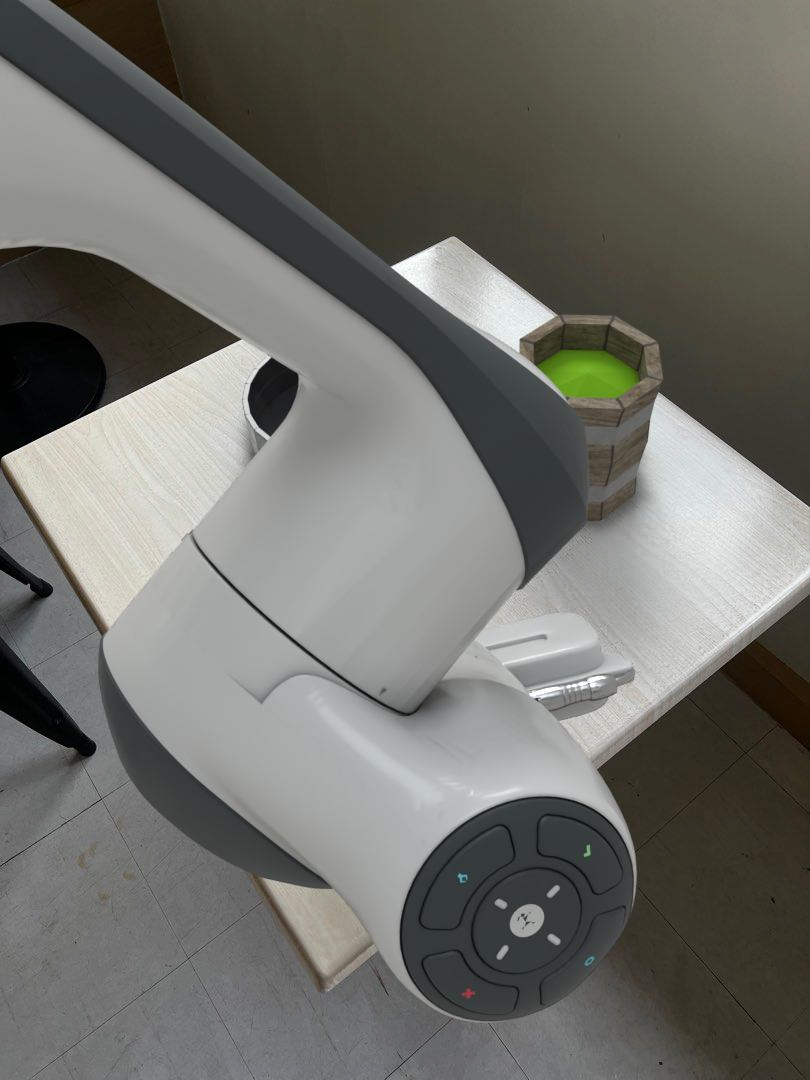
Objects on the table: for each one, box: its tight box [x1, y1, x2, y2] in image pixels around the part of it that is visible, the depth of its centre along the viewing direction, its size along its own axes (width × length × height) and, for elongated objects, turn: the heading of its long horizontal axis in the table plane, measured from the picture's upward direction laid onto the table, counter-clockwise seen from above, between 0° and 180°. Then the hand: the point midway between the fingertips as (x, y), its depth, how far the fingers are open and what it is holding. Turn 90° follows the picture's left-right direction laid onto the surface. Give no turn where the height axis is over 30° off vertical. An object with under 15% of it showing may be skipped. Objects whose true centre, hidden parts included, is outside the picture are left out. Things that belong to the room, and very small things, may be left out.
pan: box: [241, 355, 299, 456], centre depth 75 cm, size 15×15×5 cm
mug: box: [518, 314, 664, 521], centre depth 69 cm, size 16×11×12 cm
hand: (392, 657), depth 53 cm, fingers closed on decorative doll, 4 cm apart
